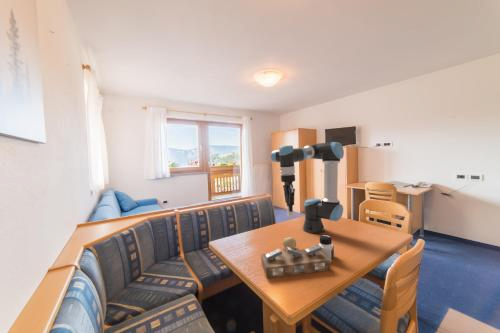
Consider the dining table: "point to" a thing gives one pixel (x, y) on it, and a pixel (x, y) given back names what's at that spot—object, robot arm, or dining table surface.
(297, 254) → the block
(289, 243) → the apple
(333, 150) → the robot arm
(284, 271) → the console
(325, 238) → the medicine bottle
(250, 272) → the dining table surface
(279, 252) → the block
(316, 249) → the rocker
